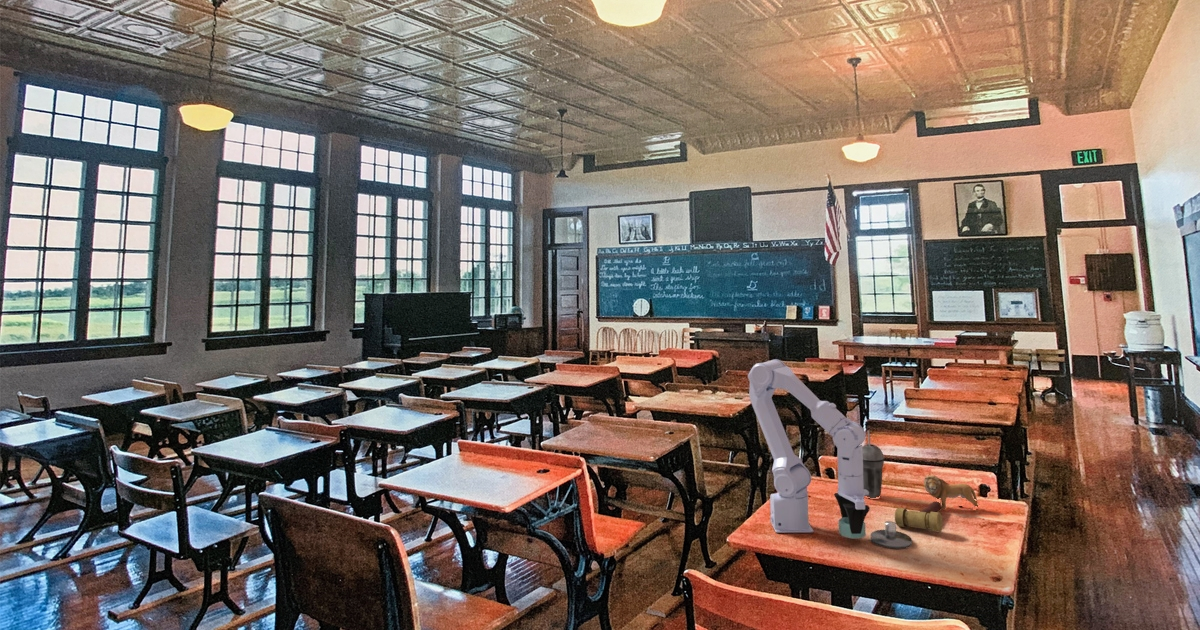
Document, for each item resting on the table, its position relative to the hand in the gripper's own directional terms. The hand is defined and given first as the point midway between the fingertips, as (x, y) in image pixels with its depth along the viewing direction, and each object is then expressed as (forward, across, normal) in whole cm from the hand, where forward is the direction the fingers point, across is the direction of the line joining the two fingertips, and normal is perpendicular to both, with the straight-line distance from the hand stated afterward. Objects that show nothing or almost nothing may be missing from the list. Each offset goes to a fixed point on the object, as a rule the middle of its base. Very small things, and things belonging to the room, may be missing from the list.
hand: (851, 527), depth 147 cm
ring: (+1, 0, 0) cm, 1 cm away
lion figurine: (+3, +20, -32) cm, 38 cm away
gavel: (+3, +13, -23) cm, 27 cm away
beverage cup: (+4, +31, -15) cm, 35 cm away
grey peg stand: (+3, 0, -9) cm, 10 cm away
